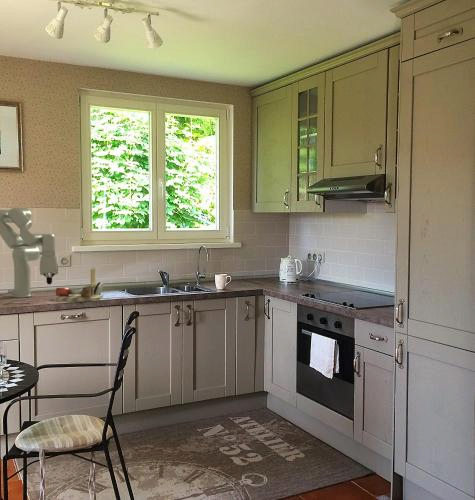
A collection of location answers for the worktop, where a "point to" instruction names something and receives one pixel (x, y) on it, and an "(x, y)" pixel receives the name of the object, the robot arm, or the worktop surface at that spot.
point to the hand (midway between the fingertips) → (49, 284)
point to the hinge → (98, 288)
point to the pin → (66, 291)
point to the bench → (78, 298)
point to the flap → (92, 277)
